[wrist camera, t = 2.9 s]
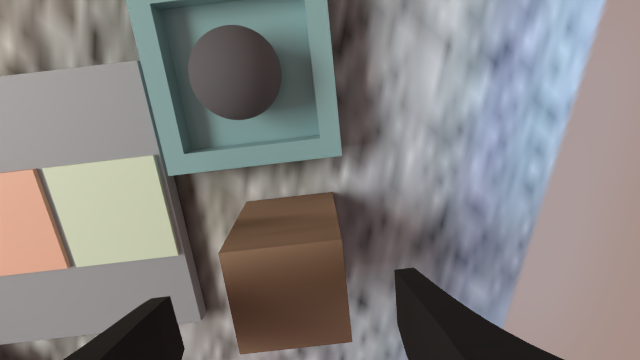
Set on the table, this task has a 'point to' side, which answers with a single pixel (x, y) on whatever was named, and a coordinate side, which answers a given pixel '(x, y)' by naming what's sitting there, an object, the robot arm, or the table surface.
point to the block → (287, 274)
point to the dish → (250, 134)
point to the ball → (234, 72)
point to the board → (86, 206)
